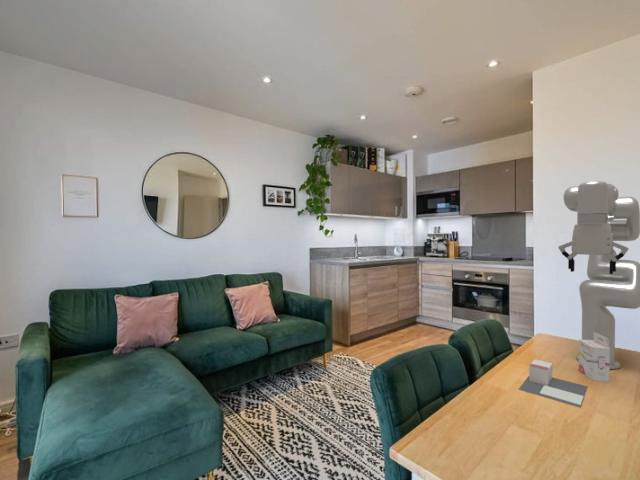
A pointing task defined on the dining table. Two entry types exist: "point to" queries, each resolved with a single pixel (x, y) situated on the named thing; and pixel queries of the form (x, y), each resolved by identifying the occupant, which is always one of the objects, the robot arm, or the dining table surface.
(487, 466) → the dining table surface
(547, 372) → the card deck case
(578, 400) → the mat
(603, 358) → the ink cartridge box
